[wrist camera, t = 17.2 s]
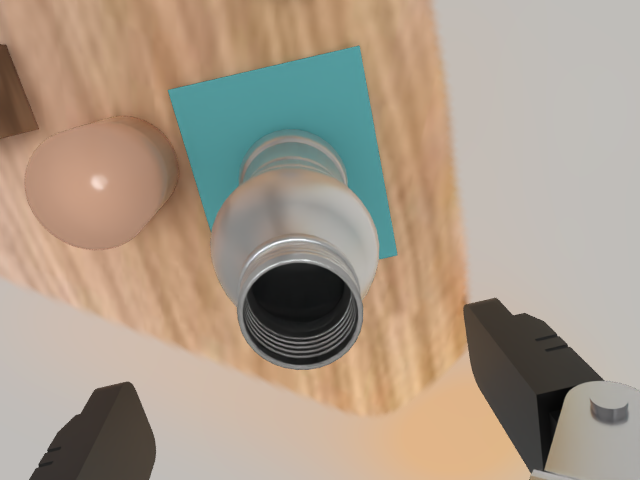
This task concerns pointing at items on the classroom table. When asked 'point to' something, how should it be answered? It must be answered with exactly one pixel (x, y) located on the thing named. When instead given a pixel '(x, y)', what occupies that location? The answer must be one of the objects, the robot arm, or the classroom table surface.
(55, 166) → the beige domed cylinder
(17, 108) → the walnut block
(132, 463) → the robot arm
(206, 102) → the teal mat
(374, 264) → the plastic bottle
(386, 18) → the classroom table surface
